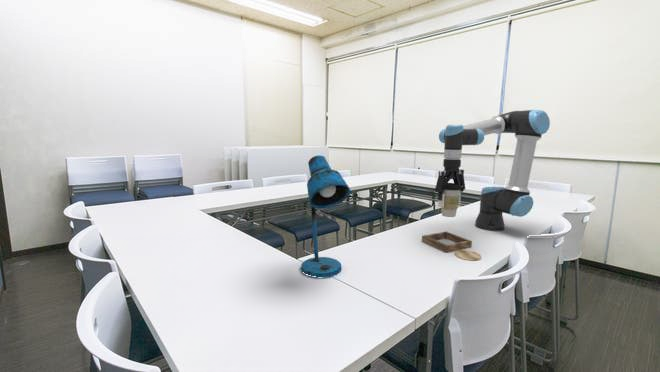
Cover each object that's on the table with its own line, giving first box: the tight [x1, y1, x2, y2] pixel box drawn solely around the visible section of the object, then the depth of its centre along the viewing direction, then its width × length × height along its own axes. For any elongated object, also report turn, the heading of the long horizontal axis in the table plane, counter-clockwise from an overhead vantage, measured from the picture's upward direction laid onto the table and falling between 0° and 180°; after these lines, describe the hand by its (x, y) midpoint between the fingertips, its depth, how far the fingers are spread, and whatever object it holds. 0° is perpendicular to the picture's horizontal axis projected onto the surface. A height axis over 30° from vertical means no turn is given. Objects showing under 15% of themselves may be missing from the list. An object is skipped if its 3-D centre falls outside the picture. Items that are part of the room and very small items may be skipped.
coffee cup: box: [440, 182, 462, 218], centre depth 151 cm, size 10×10×15 cm
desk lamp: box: [300, 155, 351, 278], centre depth 122 cm, size 16×22×45 cm
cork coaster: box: [454, 249, 482, 262], centre depth 142 cm, size 11×11×1 cm
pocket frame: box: [421, 231, 473, 254], centre depth 155 cm, size 16×16×3 cm
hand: (449, 205), depth 152 cm, fingers closed on coffee cup, 10 cm apart
